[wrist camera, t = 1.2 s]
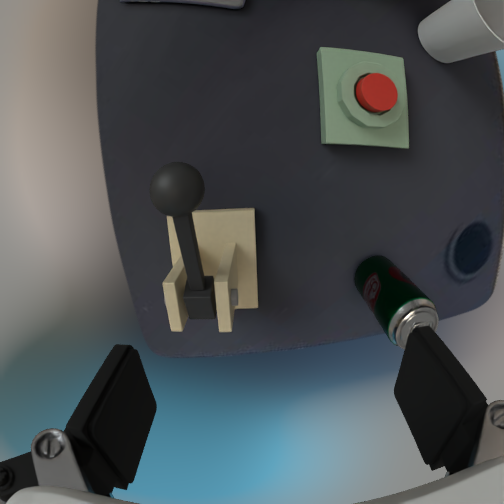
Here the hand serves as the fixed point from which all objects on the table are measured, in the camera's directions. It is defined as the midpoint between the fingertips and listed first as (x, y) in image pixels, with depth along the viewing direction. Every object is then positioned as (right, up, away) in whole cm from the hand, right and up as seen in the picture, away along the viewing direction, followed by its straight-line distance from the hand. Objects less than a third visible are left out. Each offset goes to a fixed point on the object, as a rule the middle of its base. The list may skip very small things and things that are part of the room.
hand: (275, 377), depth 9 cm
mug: (+22, +31, +14) cm, 40 cm away
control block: (+10, +20, +18) cm, 29 cm away
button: (+10, +19, +14) cm, 26 cm away
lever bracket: (-5, +3, +24) cm, 24 cm away
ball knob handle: (-5, +5, +13) cm, 15 cm away
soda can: (+13, +2, +24) cm, 28 cm away
